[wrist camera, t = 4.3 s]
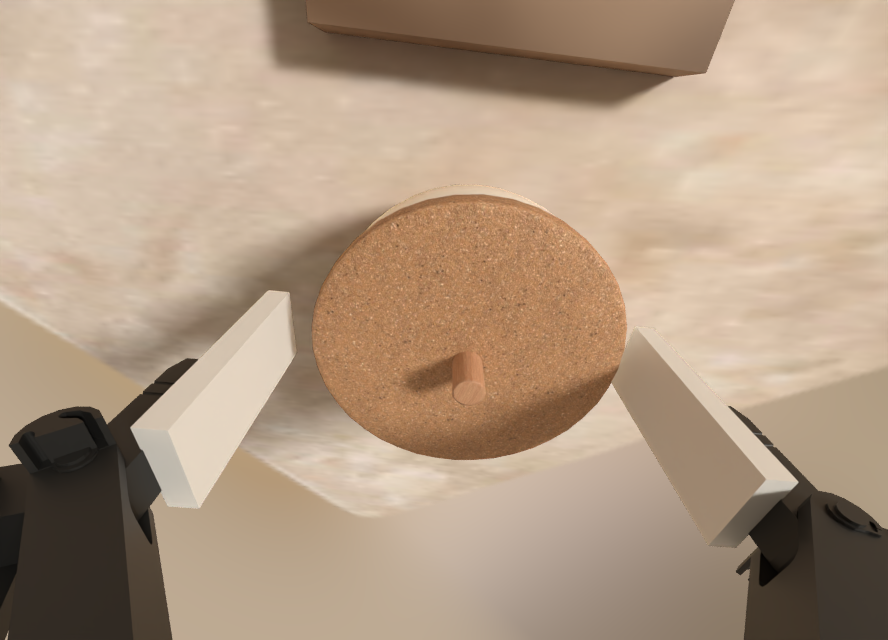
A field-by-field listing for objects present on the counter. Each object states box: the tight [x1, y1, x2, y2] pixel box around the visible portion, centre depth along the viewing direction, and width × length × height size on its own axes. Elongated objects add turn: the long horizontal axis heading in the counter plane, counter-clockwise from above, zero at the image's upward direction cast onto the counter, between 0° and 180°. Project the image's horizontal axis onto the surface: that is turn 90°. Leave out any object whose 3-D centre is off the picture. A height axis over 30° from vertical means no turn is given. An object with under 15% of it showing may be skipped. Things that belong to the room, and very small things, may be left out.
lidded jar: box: [312, 185, 627, 460], centre depth 15 cm, size 11×11×9 cm
